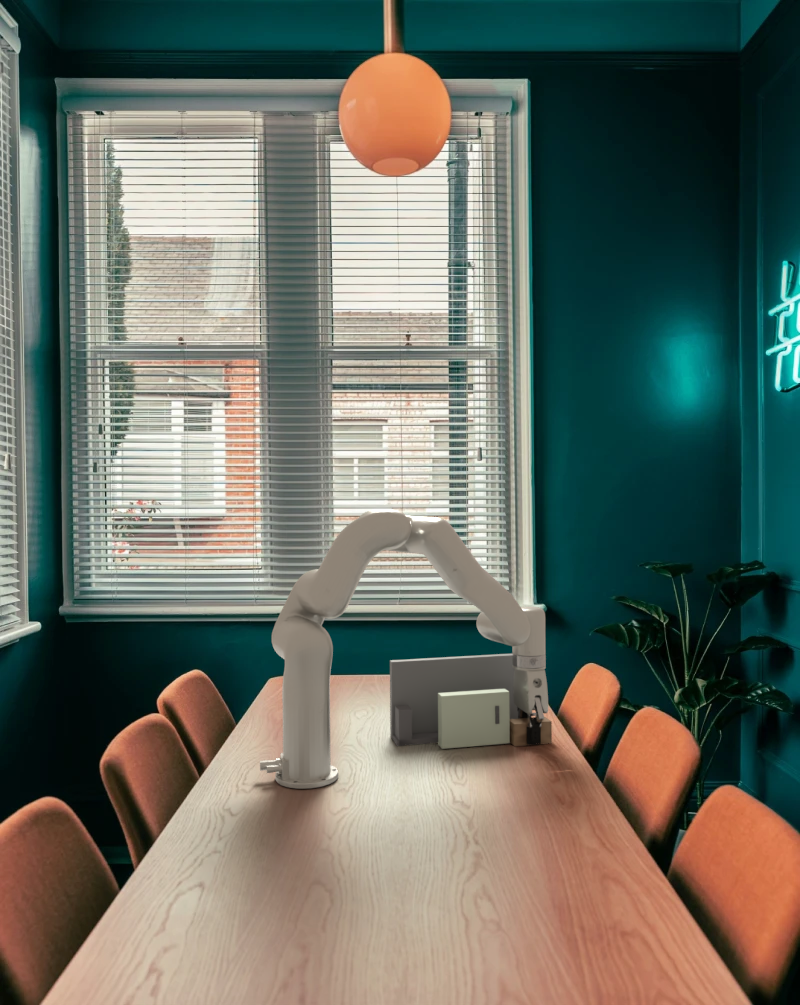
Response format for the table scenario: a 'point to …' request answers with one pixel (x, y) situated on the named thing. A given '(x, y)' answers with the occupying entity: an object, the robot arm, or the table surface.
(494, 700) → the door
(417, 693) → the grey upright panel
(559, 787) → the table surface
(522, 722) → the walnut block
